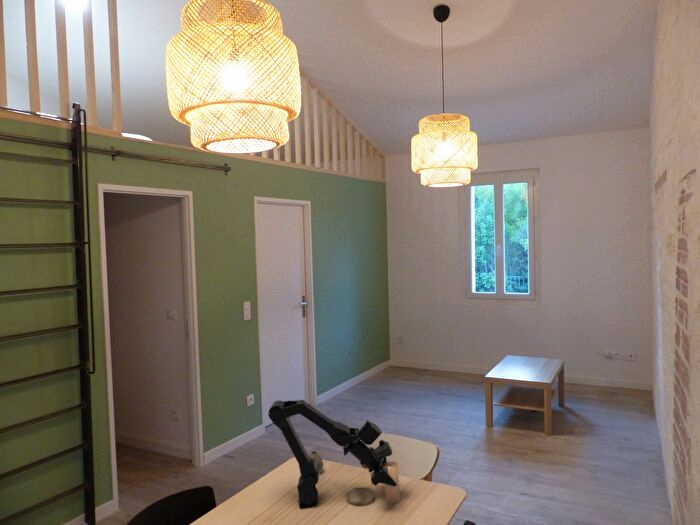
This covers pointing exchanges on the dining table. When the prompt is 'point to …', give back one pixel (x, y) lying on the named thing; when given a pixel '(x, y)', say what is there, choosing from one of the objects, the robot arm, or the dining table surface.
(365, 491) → the stand
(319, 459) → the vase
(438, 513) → the dining table surface
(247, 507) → the dining table surface
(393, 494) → the tan tapered cylinder
